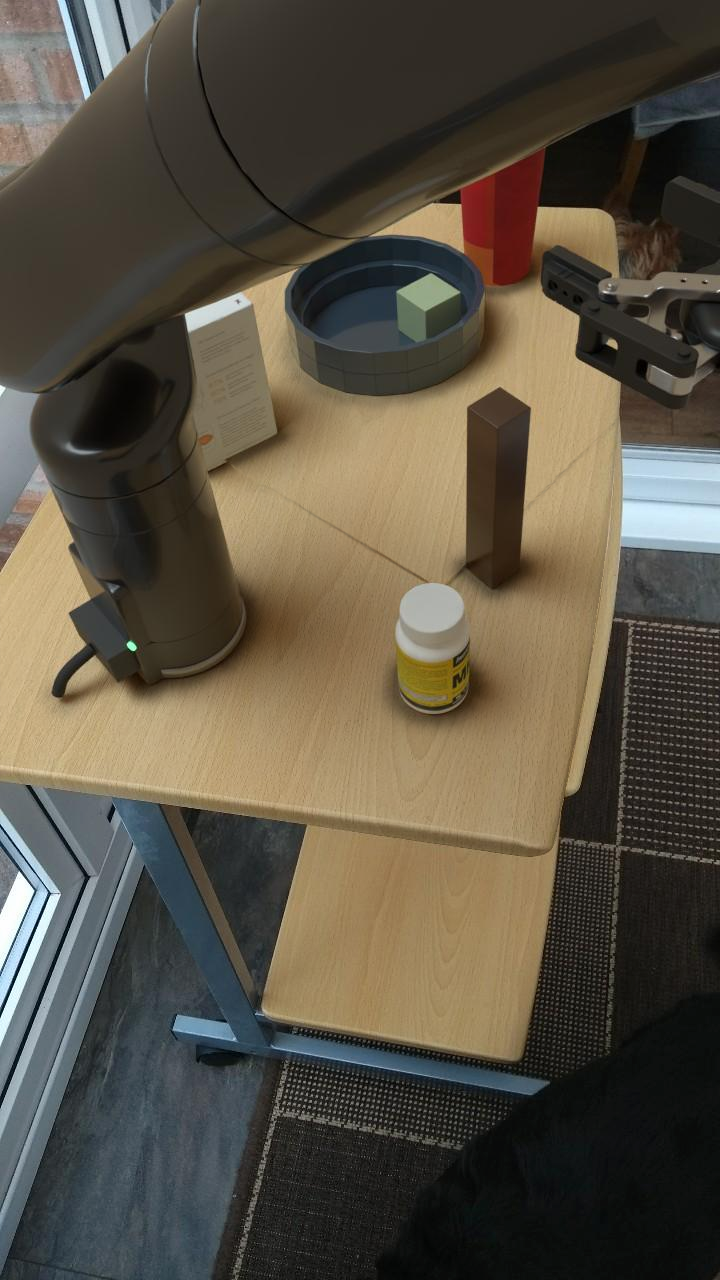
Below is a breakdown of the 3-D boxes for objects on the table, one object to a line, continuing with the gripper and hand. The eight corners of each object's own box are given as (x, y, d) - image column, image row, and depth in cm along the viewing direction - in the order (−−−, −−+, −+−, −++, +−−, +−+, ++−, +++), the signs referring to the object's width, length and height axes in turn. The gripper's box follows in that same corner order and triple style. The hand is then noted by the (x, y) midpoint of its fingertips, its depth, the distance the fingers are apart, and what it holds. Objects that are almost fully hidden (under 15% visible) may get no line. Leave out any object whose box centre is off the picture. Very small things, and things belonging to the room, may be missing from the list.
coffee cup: (546, 250, 98) (558, 90, 87) (535, 301, 94) (546, 138, 82) (460, 245, 100) (460, 87, 88) (445, 294, 95) (443, 134, 83)
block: (426, 350, 89) (425, 311, 86) (397, 330, 92) (395, 291, 88) (461, 331, 91) (461, 291, 88) (432, 311, 93) (431, 272, 90)
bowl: (373, 428, 85) (368, 380, 81) (254, 338, 93) (245, 290, 89) (522, 339, 90) (525, 289, 86) (398, 261, 99) (395, 213, 95)
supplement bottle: (463, 720, 67) (464, 642, 60) (392, 711, 67) (385, 633, 61) (473, 662, 69) (475, 581, 63) (405, 653, 70) (400, 573, 64)
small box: (243, 399, 88) (214, 264, 78) (280, 438, 85) (255, 302, 74) (160, 438, 86) (119, 304, 76) (194, 480, 82) (156, 345, 72)
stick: (491, 589, 73) (497, 428, 61) (465, 567, 75) (466, 406, 63) (520, 569, 74) (531, 407, 62) (493, 548, 76) (499, 386, 64)
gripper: (1040, 228, 41) (718, 100, 50) (820, 385, 37) (505, 215, 45) (967, 378, 47) (690, 241, 56) (769, 530, 43) (499, 356, 51)
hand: (608, 230), depth 50 cm, fingers open, 8 cm apart
